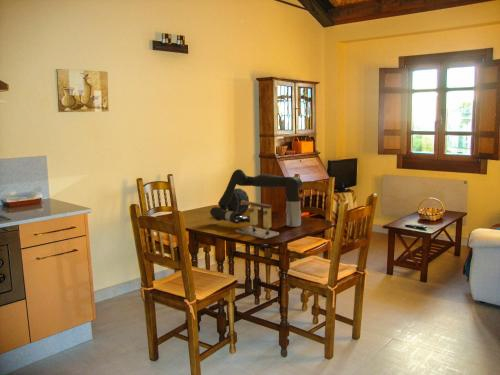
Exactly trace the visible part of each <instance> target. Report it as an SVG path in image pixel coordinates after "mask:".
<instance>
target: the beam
mask: <svg viewBox="0 0 500 375" xmlns="http://www.w3.org/2000/svg"><path fill="white" fill-rule="evenodd" d="M243 204H244V205H249V207H250V206H256V207H258V208H268V209H270V208H271V209H272V205H271V204H266V203H261V202H255V201H253V202H252V201H249V202H248V201H245V200H243V201H241V205H243Z"/></svg>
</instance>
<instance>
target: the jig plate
mask: <svg viewBox="0 0 500 375" xmlns="http://www.w3.org/2000/svg"><path fill="white" fill-rule="evenodd" d="M235 232H236V233H239V234H243V235H247V236H252V237H256V238H260V239H265V240H266V239H269V238H273V237H275V236H279V235H280V232H278V231H274V230H270V229H269V233H266V228H260V227H256V226H255V230H253V226H252V225H249V226H245V227H242V228H236V229H235Z"/></svg>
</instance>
